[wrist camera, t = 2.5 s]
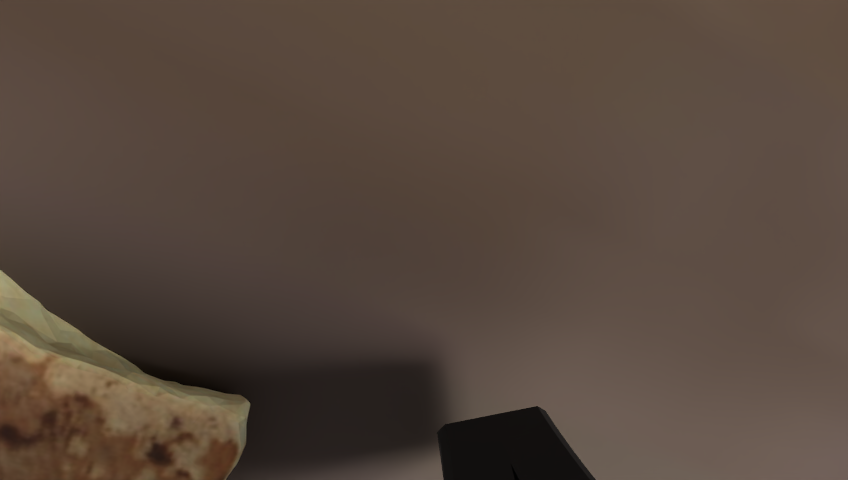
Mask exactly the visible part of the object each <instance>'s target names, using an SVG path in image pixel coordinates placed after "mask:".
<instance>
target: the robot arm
mask: <svg viewBox="0 0 848 480" xmlns="http://www.w3.org/2000/svg"><path fill="white" fill-rule="evenodd" d="M437 434H438V442H439V449H440V456H441V464H442V471H443V478H444V480H595V478H594V477H593V476H592V475H591V473H590V472H589V471H588V470H587V468H586V467H585V466H584V464H583V463H582V462H581V460H580V459H579V458H578V456H577V455H576V454H575V453H574V451H573V450H572V448H571V447H570V446H569V444H568V443H567V442H566V440H565V439H564V437H563V436H562V435H561V433H560V432H559V430H558V429H557V427H556V426H555V425H554V423H553V422H552V420H551V419H550V417H549V415H548V414H547V412H546V411H545V410H543V409H541V408H540V407H538V406H536V407H531V408H526V409H521V410H515V411H510V412H505V413H500V414H495V415H490V416H485V417H480V418H475V419H470V420H465V421H460V422H455V423H450V424H445V425H444V426H443V427H442V428H441V429H440V430H439V431H438V432H437Z"/></svg>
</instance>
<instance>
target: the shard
mask: <svg viewBox="0 0 848 480" xmlns="http://www.w3.org/2000/svg"><path fill="white" fill-rule="evenodd" d="M249 409H250V402H249V401H248V400H247V399H246V398H244V397H243V396H241V395H236V394H226V393H222V392H218V391H214V390H210V389H205V388H200V387H193V386H186V385H181V384H179V383H177V382H174V381H164V380H161V379H158V378H156V377H153V376H150V375H148V374H145V373H144V372H143V371H141V370H140V369H139V368H138V367H137V366H136V365H134V364H132V363H131V362H129V361H128V360H126V359H124V358H123V357H121V356H120V355H118V354H116V353H114V352H112V351H110V350H109V349H107V348H105V347H103V346H101V345H99V344H98V343H96V342H94V341H92V340H91V339H90V338H88V337H87V336H85V335H84V334H83V333H82V332H80V331H79V330H78V329H76V328H75V327H73V326H72V325H70V324H69V323H67V322H65V321H64V320H62V319H60V318H59V317H57V316H56V315H54V314H52V313H51V312H49V311H47V310H46V309H45V308H44V307H43V306H42V304H41V303H40V302H39V301H37V300H36V299H35V298H33V297H32V296H31V295H29V294H28V293H26V292H25V291H24V290H23V289H22V288H21V287H20V286H18V285H17V284H16V283H15V282H14V281H13V280H12V279H11V278H10V277H8V276H7V275H6V274H5V273H3V272H2V271H1V270H0V480H226V479H227V477H228V475H229V474H230V473H231V471H232V470H233V469H234V467H235V466H236V465H237V463H238V461H239V458H240V456H241V454H242V452H243V450H244V447H245V445H246V425H247V418H248V414H249Z"/></svg>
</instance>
